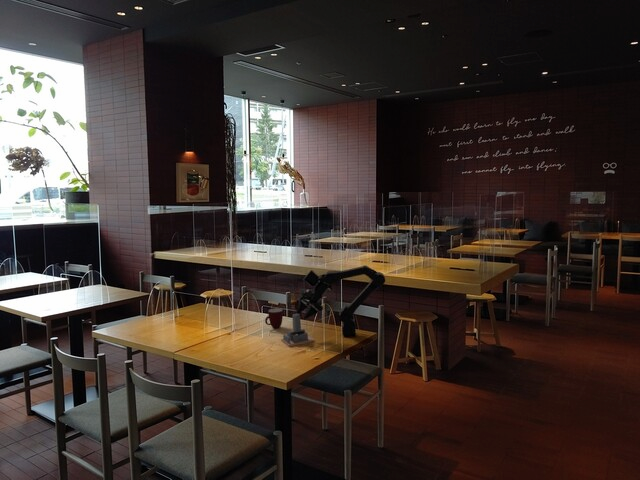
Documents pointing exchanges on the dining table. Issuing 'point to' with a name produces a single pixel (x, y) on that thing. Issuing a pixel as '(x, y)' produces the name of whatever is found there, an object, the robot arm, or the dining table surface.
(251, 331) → the dining table surface
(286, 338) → the plate
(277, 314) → the mug
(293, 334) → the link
